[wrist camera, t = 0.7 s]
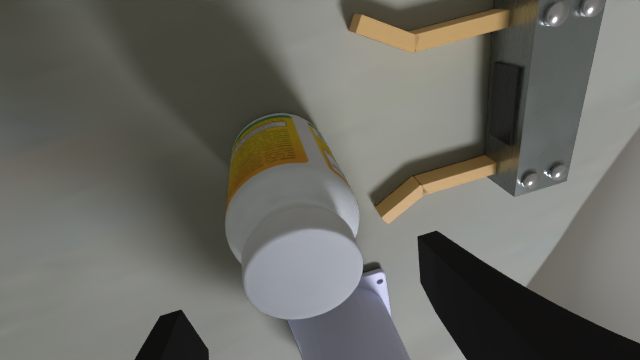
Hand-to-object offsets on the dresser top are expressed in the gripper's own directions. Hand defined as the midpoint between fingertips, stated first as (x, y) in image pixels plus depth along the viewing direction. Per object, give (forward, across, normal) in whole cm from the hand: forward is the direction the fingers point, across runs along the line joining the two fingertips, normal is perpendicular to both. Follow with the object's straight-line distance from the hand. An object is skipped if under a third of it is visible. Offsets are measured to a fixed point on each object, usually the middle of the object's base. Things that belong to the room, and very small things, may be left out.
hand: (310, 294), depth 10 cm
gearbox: (+10, -15, -1) cm, 18 cm away
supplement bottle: (+11, 0, 0) cm, 11 cm away
